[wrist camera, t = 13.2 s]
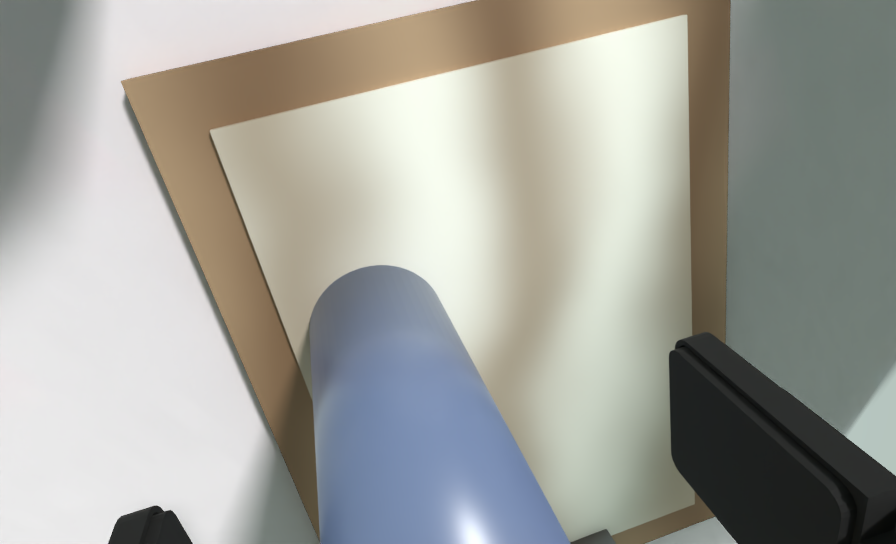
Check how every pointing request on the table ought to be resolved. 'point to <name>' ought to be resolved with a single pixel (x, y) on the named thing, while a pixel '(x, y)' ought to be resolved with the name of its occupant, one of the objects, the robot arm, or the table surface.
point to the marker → (411, 425)
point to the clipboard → (478, 218)
